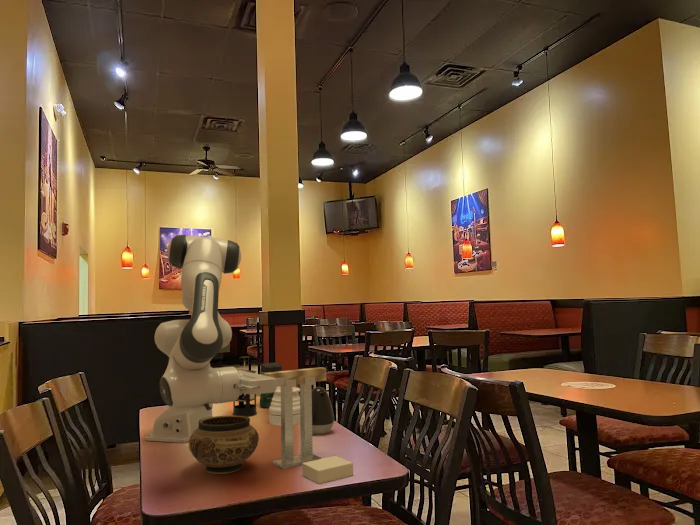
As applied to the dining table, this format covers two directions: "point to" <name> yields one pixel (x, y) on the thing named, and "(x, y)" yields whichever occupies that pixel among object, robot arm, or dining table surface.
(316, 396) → the black tapered rounded piece
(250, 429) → the ceramic bowl
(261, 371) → the coffee jar
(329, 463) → the beige flat block
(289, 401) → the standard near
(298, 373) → the rail
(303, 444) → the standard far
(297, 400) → the honey pot
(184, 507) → the dining table surface
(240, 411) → the french press
